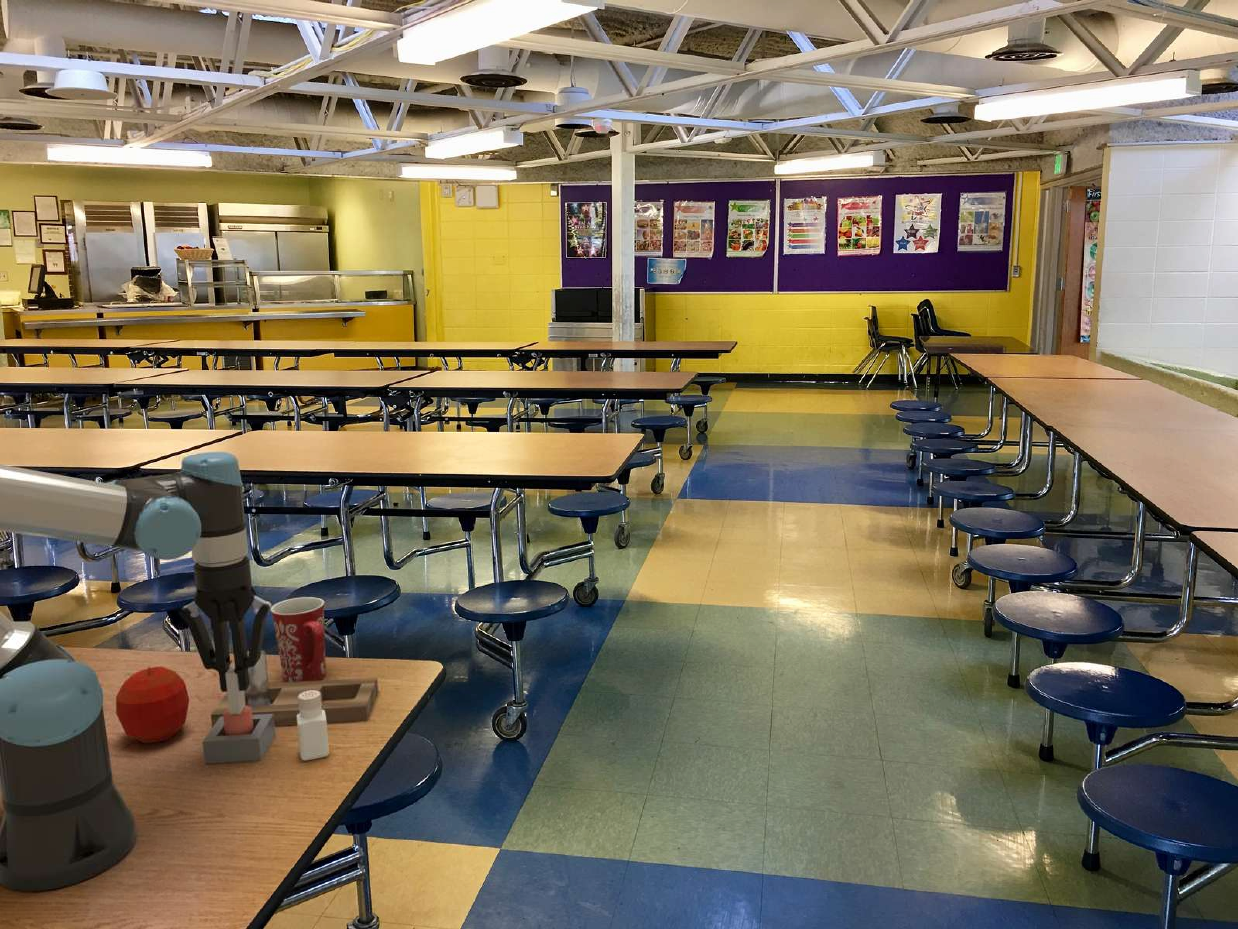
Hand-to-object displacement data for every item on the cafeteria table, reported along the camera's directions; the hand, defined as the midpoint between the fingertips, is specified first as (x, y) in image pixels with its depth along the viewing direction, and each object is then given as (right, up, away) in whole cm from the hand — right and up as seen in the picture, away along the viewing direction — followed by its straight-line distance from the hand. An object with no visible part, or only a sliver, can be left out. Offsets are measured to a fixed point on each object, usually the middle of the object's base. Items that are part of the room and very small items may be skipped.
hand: (237, 710), depth 142 cm
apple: (-15, -6, +6) cm, 17 cm away
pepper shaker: (+12, -7, -1) cm, 13 cm away
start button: (0, -5, +1) cm, 5 cm away
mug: (+2, -2, +25) cm, 25 cm away
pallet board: (+4, -4, +14) cm, 15 cm away
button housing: (0, -6, +1) cm, 6 cm away
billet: (-2, -4, +13) cm, 14 cm away
